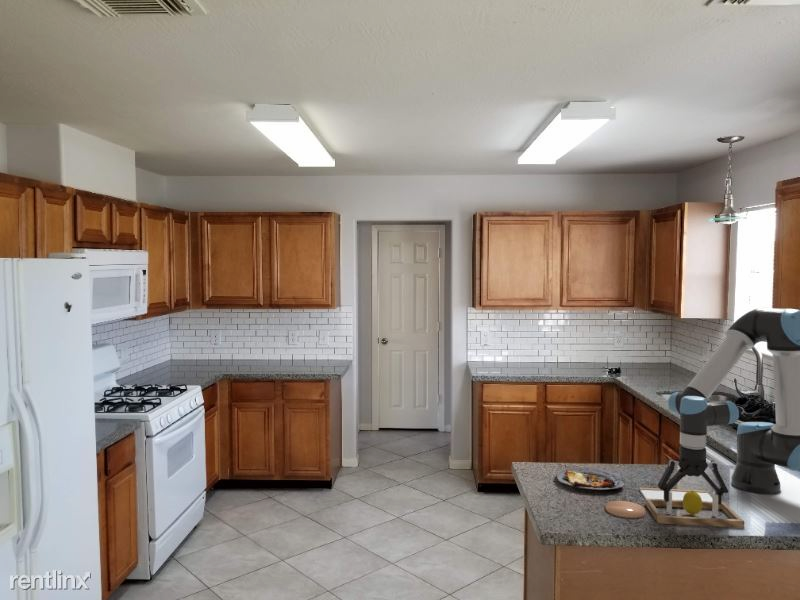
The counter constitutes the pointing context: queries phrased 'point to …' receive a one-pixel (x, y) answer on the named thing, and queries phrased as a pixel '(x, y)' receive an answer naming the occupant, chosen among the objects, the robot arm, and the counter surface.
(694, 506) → the lemon
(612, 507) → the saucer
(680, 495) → the lid
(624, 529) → the counter surface
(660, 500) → the wooden frame
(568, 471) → the food plate
